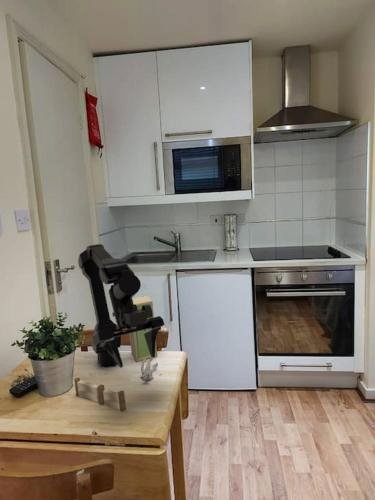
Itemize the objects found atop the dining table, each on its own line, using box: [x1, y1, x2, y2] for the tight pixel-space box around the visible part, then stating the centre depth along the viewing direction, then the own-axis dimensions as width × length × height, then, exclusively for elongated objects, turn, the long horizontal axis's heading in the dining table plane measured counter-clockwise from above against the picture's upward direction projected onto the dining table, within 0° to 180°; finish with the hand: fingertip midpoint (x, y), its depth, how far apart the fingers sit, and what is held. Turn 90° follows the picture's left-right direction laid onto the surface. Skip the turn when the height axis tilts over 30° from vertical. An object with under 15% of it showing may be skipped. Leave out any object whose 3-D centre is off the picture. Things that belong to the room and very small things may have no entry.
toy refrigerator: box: [128, 295, 158, 363], centre depth 123 cm, size 8×7×21 cm
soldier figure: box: [140, 357, 162, 383], centre depth 111 cm, size 8×5×12 cm
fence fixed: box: [98, 384, 127, 412], centre depth 96 cm, size 9×2×6 cm, turn 61°
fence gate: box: [73, 377, 99, 403], centre depth 100 cm, size 9×2×5 cm, turn 61°
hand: (137, 362), depth 91 cm, fingers open, 9 cm apart
